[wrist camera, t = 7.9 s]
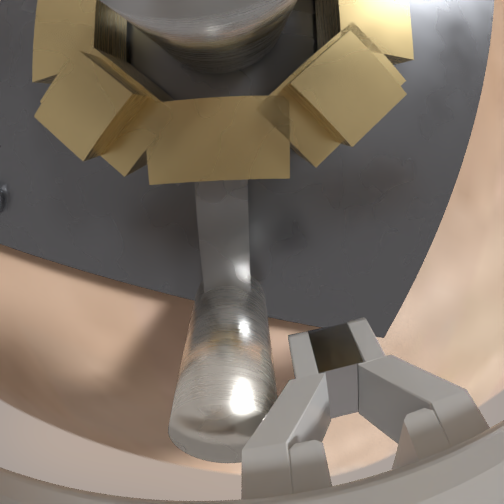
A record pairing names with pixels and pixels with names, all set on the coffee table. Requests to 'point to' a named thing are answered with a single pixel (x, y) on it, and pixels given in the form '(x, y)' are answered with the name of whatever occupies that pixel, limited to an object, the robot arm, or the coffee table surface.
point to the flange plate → (259, 190)
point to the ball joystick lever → (219, 173)
